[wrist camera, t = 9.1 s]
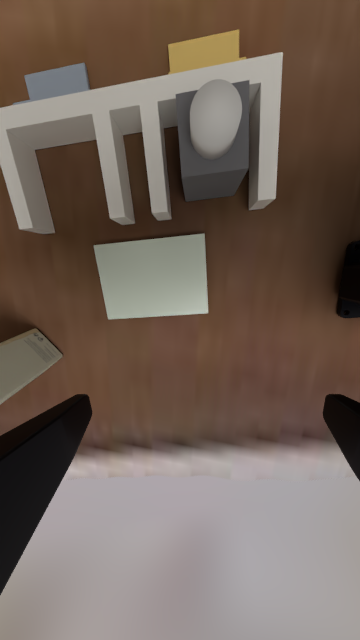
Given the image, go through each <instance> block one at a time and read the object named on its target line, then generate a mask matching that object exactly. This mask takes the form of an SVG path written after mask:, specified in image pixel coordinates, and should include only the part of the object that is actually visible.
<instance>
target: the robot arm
mask: <svg viewBox="0 0 360 640" xmlns="http://www.w3.org/2000/svg"><path fill="white" fill-rule="evenodd" d="M355 245H356V246H357V248H356V250H354V246H355ZM345 310H346V313H345V314H343V313H344V311H345ZM337 314H338V316H340V317H343V318H356V317H360V241H354V242H351V243H350V244H349V245H348V247H347V251H346V258H345V264H344V269H343V273H342V280H341V287H340V293H339V304H338V310H337ZM91 416H92V408H91V404H90V400H89V396H88V395H86V394H77V395H75V396H73V397H71V398H69V399H67V400H65V401H64V402H62V403H60V404H58V405H56V406H54V407H53V408H51V409H49V410H47V411H45V412H43V413H42V414H40V415H38V416H36V417H34V418H32V419H30V420H29V421H27V422H25V423H23V424H21V425H19V426H18V427H16V428H14V429H12V430H10V431H8V432H7V433H5V434H3V435H1V436H0V595H1V593H2V591H3V589H4V587H5V585H6V583H7V582H8V580H9V578H10V576H11V574H12V572H13V570H14V569H15V567H16V565H17V563H18V561H19V559H20V557H21V556H22V554H23V552H24V550H25V548H26V546H27V544H28V542H29V541H30V539H31V537H32V535H33V533H34V531H35V529H36V527H37V525H38V524H39V522H40V520H41V518H42V516H43V514H44V512H45V511H46V509H47V507H48V505H49V503H50V501H51V499H52V498H53V496H54V494H55V492H56V490H57V488H58V486H59V485H60V483H61V481H62V479H63V477H64V475H65V473H66V471H67V470H68V468H69V466H70V464H71V462H72V460H73V458H74V456H75V454H76V452H77V449H78V447H79V445H80V442H81V440H82V438H83V435H84V433H85V431H86V428H87V426H88V424H89V421H90V419H91ZM323 418H324V420H325V422H326V424H327V426H328V428H329V429H330V431H331V433H332V435H333V437H334V438H335V440H336V442H337V444H338V446H339V447H340V449H341V451H342V453H343V455H344V456H345V458H346V460H347V462H348V463H349V465H350V467H351V468H352V470H353V472H354V473H355V475H356V476H357V478H358V479H359V481H360V403H359V402H357V401H355V400H352V399H350V398H348V397H346V396H344V395H341V394H328V395H327V396H326V398H325V403H324V409H323Z"/></svg>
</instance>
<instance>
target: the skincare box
mask: <svg viewBox="0 0 360 640" xmlns="http://www.w3.org/2000/svg"><path fill="white" fill-rule="evenodd" d="M62 356H63V355H62V354H61V353H60V352H59V351H58V350H57V349H56V348H55V347H54V346H53V345H52V344H51V343H50V342H49V341H48V339H47V338H46V337H44V335H43V334H41V333H40V332H39V331H38V330H37V329H36V328H34V329H32V330H29V331H27V332H25V333H22V334H20V335H18V336H15V337H13V338H10V339H8V340H6V341H3V342H1V343H0V404H1V403H3V402H4V401H5V400H7V399H8V398H10V397H11V396H12V395H14V394H15V393H16V392H18V391H19V390H20V389H22V388H23V387H24V386H26V385H27V384H29V383H30V382H31V381H33V380H34V379H35V378H37V377H38V376H39V375H41V374H42V373H43V372H44V371H46V370H47V369H48V368H49V367H51V366H52V365H53V364H54V363H56V362H57V361H58V360H59V359H60V358H62Z"/></svg>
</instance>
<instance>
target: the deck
mask: <svg viewBox="0 0 360 640" xmlns="http://www.w3.org/2000/svg"><path fill="white" fill-rule="evenodd" d="M93 246H94V251H95V256H96V261H97V266H98V271H99V276H100V281H101V286H102V291H103V296H104V301H105V306H106V311H107V316H108V319H124V318H140V317H156V316H172V315H188V314H204V313H208V297H207V275H206V253H205V234H195V235H186V236H176V237H167V238H158V239H148V240H139V241H129V242H120V243H111V244H101V245H93Z"/></svg>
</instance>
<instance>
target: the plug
mask: <svg viewBox="0 0 360 640" xmlns="http://www.w3.org/2000/svg"><path fill="white" fill-rule="evenodd" d="M176 108H177V121H178V135H179V148H180V162H181V175H182V183H183V189H184V194H185V200H186V202H188V201H196V200H204V199H212V198H219V197H227V196H234V194H235V193H236V191H237V189H238V187H239V185H240V183H241V181H242V180H243V178H244V176H245V174H246V172H247V170H248V168H249V80H246V81H241V82H236V83H230V82H228V81H226V80H222V79H215V80H211V81H209V82H207V83H206V84H204V85H203V86H202V87H201V88H200V89H199V90H194V91H189V92H184V93H179V94H176Z"/></svg>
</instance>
